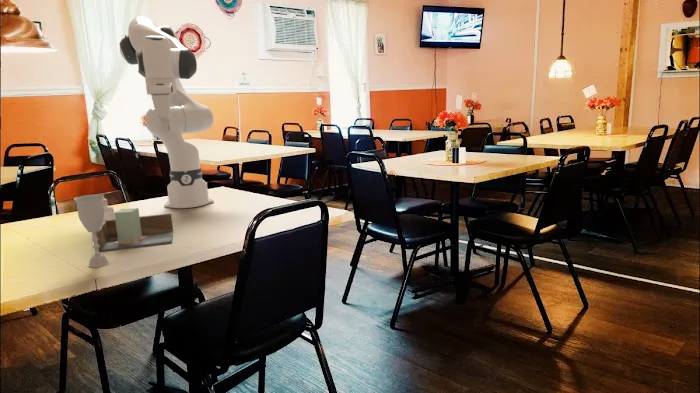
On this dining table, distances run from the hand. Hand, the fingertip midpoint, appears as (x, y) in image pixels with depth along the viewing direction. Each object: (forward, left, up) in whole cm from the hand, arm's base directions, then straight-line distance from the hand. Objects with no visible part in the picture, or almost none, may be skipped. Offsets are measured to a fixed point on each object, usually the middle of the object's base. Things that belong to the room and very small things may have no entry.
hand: (166, 132), depth 167 cm
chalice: (+33, -19, -31) cm, 49 cm away
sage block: (+14, -13, -30) cm, 36 cm away
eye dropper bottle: (-4, -22, -31) cm, 38 cm away
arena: (+14, -11, -31) cm, 36 cm away
